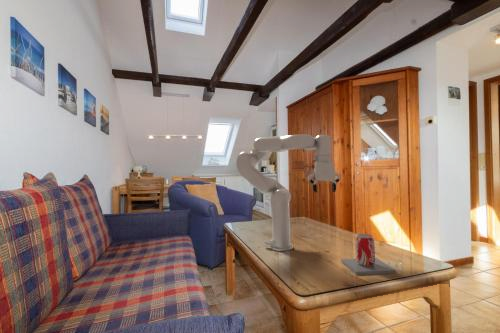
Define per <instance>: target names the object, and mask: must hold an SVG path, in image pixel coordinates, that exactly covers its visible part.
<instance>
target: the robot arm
mask: <svg viewBox="0 0 500 333" xmlns="http://www.w3.org/2000/svg"><path fill="white" fill-rule="evenodd" d="M331 142H332V141H331V136H330V135H328V134H321V135H317V136H312V135H311V134H307V133H306V134H305V133H303V134H290V135H278V136H277V135H276V136H261V137H258V138H256V139H254V141H253V148H252V149H251V150H250V151H242V152H239V154H238V155H237V157H236V161H235V162H236V163H235V164H236V170H237V171H238V173H239V174H240V175H241V177H242V178H243V179H245V180H246V181H247V182H249V184H250V185H252V186H253V187H254V188H255V189H256V190H258V191H259V193H261V194H264V195H268V196H270V198H269V200H270V201H269V202H270V203H269V204H270V207H271V208H270V209H271V228H272V230H271V231H272V236H271V239H269V240H266V239H265V240H263V244H264V245H267V246H269V248H270V250H273V251H276V252H288V251H291V250H293V249H294V245H293V244H292V243H291V230H290V227H291V226H290V225H291V223H290V208H289V206H290V205H289V203H290V201H291V199H292V196H291V192H290V191H289V190H288V189H287V188H286V187H285V186H283V185H282V184H281V183H280V182H279V181H278V180H276V179H275V178H273V177H271V176H266V175H265V174H263V173H262V172H261V171H260V170H258V169H257V168H255V167H254V166H256V165H257V164H258V163H260V162H261V160H262V159H264V157H266V156H267V154H268V153H282V152H286V151H290V150H305V151H313V150H315V156H314V157H312V158H313V160H315V162H314V165H313V166H314V167H313V172H312V173H311V174H309V175H307V176H306V178H307V179H308V181H309V183H310V184H311V185H312V191H313V192H314V193H317V192H318V185H317V183H318V182H331V183H332V184H331V192H332V193H336V190H337V184H338V182H339V181H340V180H341V178H342V176H341V174H338V173H336V172H335V171H336V170H335V165H334V161H332V144H331ZM312 178H313V179H312Z"/></svg>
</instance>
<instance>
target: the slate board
mask: <svg viewBox="0 0 500 333" xmlns="http://www.w3.org/2000/svg"><path fill="white" fill-rule="evenodd" d="M341 263H342V264H343V265H345V266H346V267H347V268H348V269H349V271H351V272H352V273H354V274H355V275H356V276H360V275H361V276H364V275H384V274H385V275H386V274H387V275H388V274H397V270H396V269H395V268H393V267H392V266H390V265H388V264H387V263H386V262H384V261H383V260H380V259H379V258H378V257H375V264H374V265H372V266H362V265H360V264H359V263H358V262H357V258H344V259H343V258H341Z"/></svg>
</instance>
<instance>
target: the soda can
mask: <svg viewBox="0 0 500 333" xmlns="http://www.w3.org/2000/svg"><path fill="white" fill-rule="evenodd" d="M355 247H356V248H355V250H356V251H355V252H356V253H355V254H356V255H355V256H356V259H357V262H358V263H359V264H360V265H362V266H372V265H374V264H375V258H376V256H375V255H376V252H375V250H376V248H375V240H374V238H373V235H371V234H367V233H360V234H359V233H358V234H357V236H356V238H355Z"/></svg>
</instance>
